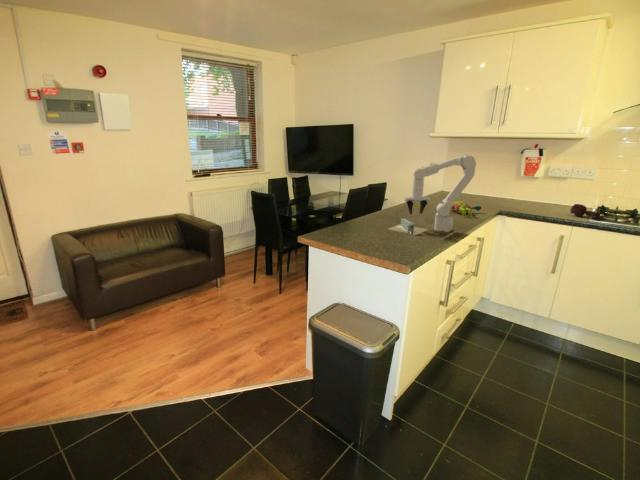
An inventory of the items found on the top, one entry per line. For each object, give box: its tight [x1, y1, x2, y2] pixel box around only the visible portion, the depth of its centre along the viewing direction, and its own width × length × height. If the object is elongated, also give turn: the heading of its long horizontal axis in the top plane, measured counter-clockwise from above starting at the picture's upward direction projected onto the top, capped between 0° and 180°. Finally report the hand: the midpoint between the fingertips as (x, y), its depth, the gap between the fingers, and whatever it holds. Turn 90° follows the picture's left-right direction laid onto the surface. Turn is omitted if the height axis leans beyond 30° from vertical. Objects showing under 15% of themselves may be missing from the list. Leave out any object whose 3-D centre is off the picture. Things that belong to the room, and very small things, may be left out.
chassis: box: [388, 223, 429, 236], centre depth 193 cm, size 18×15×5 cm
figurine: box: [570, 203, 605, 221], centre depth 225 cm, size 10×8×18 cm
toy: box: [450, 200, 482, 218], centre depth 239 cm, size 24×28×8 cm
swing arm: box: [400, 218, 417, 230], centre depth 191 cm, size 16×4×4 cm, turn 6°
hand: (415, 213), depth 194 cm, fingers open, 6 cm apart
